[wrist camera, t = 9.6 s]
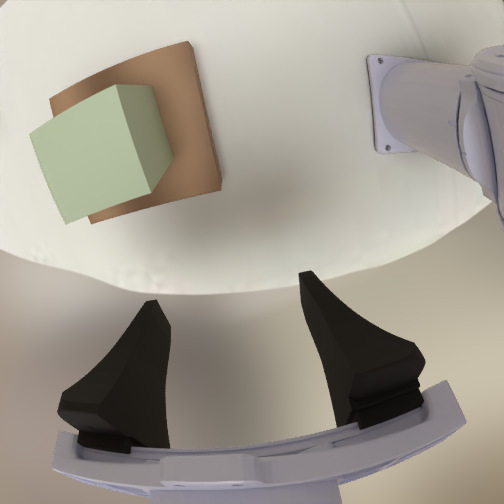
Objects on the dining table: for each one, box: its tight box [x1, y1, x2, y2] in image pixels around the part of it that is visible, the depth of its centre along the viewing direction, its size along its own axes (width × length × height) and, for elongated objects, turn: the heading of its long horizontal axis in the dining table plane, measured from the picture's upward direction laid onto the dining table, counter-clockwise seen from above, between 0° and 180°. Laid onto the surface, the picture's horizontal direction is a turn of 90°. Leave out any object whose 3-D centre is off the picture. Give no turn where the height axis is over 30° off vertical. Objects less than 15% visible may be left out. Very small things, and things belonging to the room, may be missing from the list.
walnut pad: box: [49, 41, 222, 224], centre depth 16 cm, size 10×10×3 cm
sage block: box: [29, 84, 174, 224], centre depth 12 cm, size 5×5×6 cm
